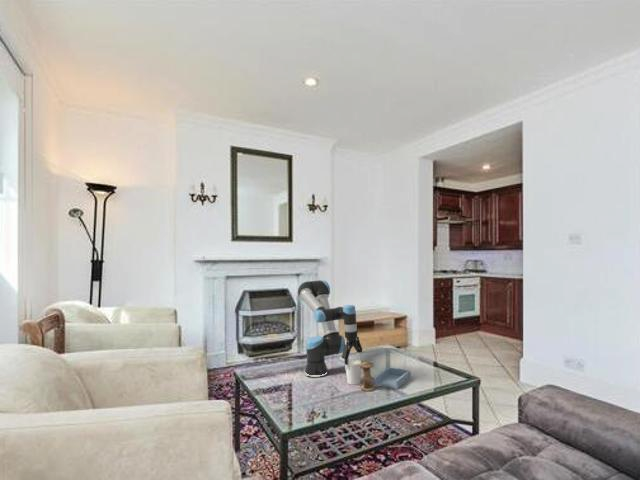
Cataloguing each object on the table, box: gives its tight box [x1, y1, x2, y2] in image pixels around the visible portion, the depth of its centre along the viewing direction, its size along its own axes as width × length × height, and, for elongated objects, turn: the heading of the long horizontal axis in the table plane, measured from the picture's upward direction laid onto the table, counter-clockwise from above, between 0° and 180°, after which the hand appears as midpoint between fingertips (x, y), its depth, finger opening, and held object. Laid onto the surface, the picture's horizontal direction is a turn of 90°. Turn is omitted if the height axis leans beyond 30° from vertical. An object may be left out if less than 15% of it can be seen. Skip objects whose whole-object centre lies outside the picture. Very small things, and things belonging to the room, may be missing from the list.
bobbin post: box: [359, 361, 376, 392], centre depth 198 cm, size 8×8×14 cm
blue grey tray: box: [373, 367, 412, 390], centre depth 207 cm, size 14×20×4 cm
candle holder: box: [345, 359, 362, 386], centre depth 209 cm, size 10×10×12 cm
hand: (353, 366), depth 209 cm, fingers open, 13 cm apart
